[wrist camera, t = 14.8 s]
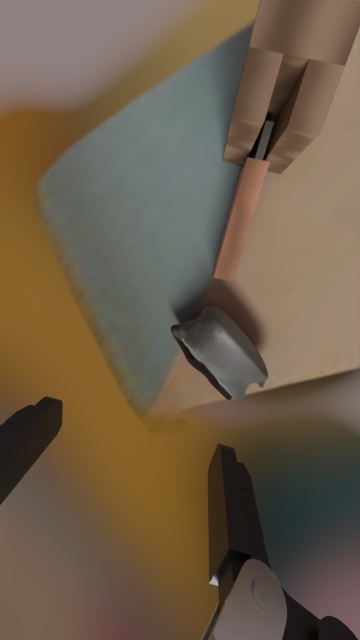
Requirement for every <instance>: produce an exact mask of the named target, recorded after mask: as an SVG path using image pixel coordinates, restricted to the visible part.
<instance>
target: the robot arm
mask: <svg viewBox="0 0 360 640" xmlns="http://www.w3.org/2000/svg"><path fill="white" fill-rule="evenodd" d="M62 404H63V403H62V401H61V400H58V399H54V398H51V397H44V398H43V399H41V400H40V401H39V402H38V403H37V404H36V405H35V406H33V405H29V406H27V407H25V408H23V409H21V410H19V411H17V412H16V413H14V414H13V415H12V416H11V417H10V418H9V419H7V420H6V421H5V423H3V424H2V425H0V505H1V504H2V502H3V501H4V500H5V499H6V497H7V496H8V495H9V494H10V493H11V491H12V490H13V489H14V487H15V486H16V485H17V484H18V483H19V481H20V480H21V479H22V478H23V476H24V475H25V474H26V473H27V471H28V470H29V469H30V468H31V466H32V465H33V464H34V463H35V461H36V460H37V459H38V458H39V457H40V455H41V454H42V453H43V451H44V450H45V449H46V448H47V447H48V445H49V444H50V443H51V441H52V440H53V439H54V438H55V437H56V435H57V434H58V432H59V430H60V428H61V425H62ZM253 492H254V491H253V486H252V480H251V476H250V474H249V473H248V471H247V469H246V467H245V465H244V464H243V463H239V462H237V459H236V453H235V449H234V448H233V447H230V446H226V445H222V444H218V445H217V447H216V450H215V452H214V454H213V457H212V460H211V462H210V465H209V469H208V526H209V527H208V530H209V531H208V532H209V583H210V584H213V585H217V586H218V590H219V591H218V593H219V603H218V605H217V607H216V609H215V611H214V613H213V616H212V618H211V620H210V622H209V624H208V626H207V629H206V631H205V633H204V635H203V637H202V639H201V640H358V639H357V638H356V636H355V635H354V634H353V632H352V631H351V630H350V629H349V628H348V627H347V626H346V625H345V624H344V623H342V622H341V621H340V620H338V619H337V618H334V617H332V616H326V617H324V618H322V619H321V620H320V619H318V618H317V617H316V616H314V615H313V614H312V613H311V612H309V611H308V610H306V609H305V608H304V607H303V606H301V605H300V604H299V603H298V602H296V601H295V600H294V599H293V598H291V597H290V596H289V595H288V594H287V593H286V591H285V590H284V589H283V588H282V586H281V585H280V583H279V581H278V580H277V578H276V576H275V575H274V573H273V571H272V569H271V567H270V564H269V561H268V557H267V553H266V548H265V543H264V539H263V533H262V529H261V524H260V519H259V514H258V509H257V506H256V500H255V495H254V493H253Z"/></svg>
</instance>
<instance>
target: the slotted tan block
mask: <svg viewBox="0 0 360 640" xmlns="http://www.w3.org/2000/svg"><path fill="white" fill-rule="evenodd" d="M359 26H360V1H358V0H260V3H259V7H258V11H257V15H256V19H255V23H254V27H253V32H252V36H251V40H250V44H249V48H248V52H247V56H246V61H245V65H244V69H243V73H242V77H241V81H240V85H239V89H238V94H237V98H236V102H235V106H234V110H233V114H232V119H231V124H230V129H229V134H228V139H227V143H226V148H225V153H224V158H223V161H224V162H229V163H233V164H238V165H242V166H244V164H245V162H246V159H247V157H248V156H249V154H250V151H251V149H252V147H253V145H254V143H255V140H256V138H257V136H258V134H259V132H260V130H261V127H263V126H264V124H265V122H266V121H271V122H274V124H273V128H272V131H271V134H270V137H269V141H268V144H267V147H266V151H265V154H264V157H263V161H267V162H270V164H269V167H268V170H267V171H270V172H274V173H279V174H281V173H282V172H283V171H284V170H285V169H286V168H287V167H288V166H289V165H290V164H291V163H292V162H293V160H294V159H295V158H296V157H297V156H298V155H299V154H300V153H301V152H302V151H303V150H304V149H305V148H306V147H307V146H308V145H309V144H310V143H311V142H312V141H313V140H314V139H315V138H316V137H317V136H318V135H319V134H320V132H321V129H322V127H323V124H324V121H325V119H326V116H327V113H328V110H329V108H330V105H331V102H332V100H333V97H334V94H335V92H336V89H337V86H338V83H339V81H340V78H341V75H342V73H343V70H344V67H345V64H346V62H347V59H348V56H349V54H350V51H351V48H352V45H353V43H354V40H355V37H356V35H357V32H358V29H359Z"/></svg>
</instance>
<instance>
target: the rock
mask: <svg viewBox="0 0 360 640" xmlns="http://www.w3.org/2000/svg"><path fill="white" fill-rule="evenodd" d="M171 332H172V334H173V336H174V338H175V339H176V341H177V342H178V344H179V345H180V347H181V349H182V351H183V353H184V355H185V357H186V359H187V361H188V362H189V363H190V364H191V365H192V366H193V367H194V368H195V369H197V370H198V371H200V372H201V373H202V374H203V375H204V376H205V377H206V378H207V379H208V380H209V382H210V383H211V384H212V385H213V386H214V387H215V388H216V389H217V390H218V391H219V392H220V393H221V394H222V395H223V396H224V397H225V398H226V399H228V400H230V399H231V398H232V397H233V398H234V399H235V400H238V401H240V400H241V399H242V398H243V397H244V394H245V392H246V389H247V388H248V386H249V385H250V384H252V383H257V384H258V385H259V387H261V388H263V386H264V383H265V381H266V380H267V378H268V372H267V369H266V366H265V364H264V361H263V359H262V358H261V356H260V354H259V352H258V351H257V349H256V348H255V346H254V345H253V343H252V342H251V341H250V340H249V338H248V337H247V336H246V335H245V334H244V333H243V331H242V330H241V329H240V328H239V327H238V326H237V325H236V324H235V322H234V321H233V320H232V319H231V318H230V317H229V316H228V315H227V314H226V312H225V311H223V310H222V309H221V308H220V307H218V306H216V305H212V306H208V307H205V308H204V309H202V311H201V315H200V316H199V317H198V318H197V319H192V320H188V321H186V322H184V323H182V324H179V325H173V326H172V327H171Z"/></svg>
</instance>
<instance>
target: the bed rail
mask: <svg viewBox="0 0 360 640" xmlns="http://www.w3.org/2000/svg"><path fill="white" fill-rule="evenodd" d="M273 124H274V122H271V121H266V122H265V124H264V126H263V128H262V131H261V133H260V135H259V137H258V139H257V141H256V144H255V148H254V151H253V155H252V158H249V157H247V159H246V162H245V164H244V166H243V168H242V170H241V173H240V177H239V180H238V184H237V188H236V191H235V195H234V198H233V202H232V205H231V209H230V213H229V216H228V220H227V223H226V227H225V231H224V234H223V238H222V241H221V245H220V249H219V252H218V256H217V259H216V263H215V267H214V270H213V277H214V278H218V279H222V280H226V281H230V282H232V281H233V277H234V274H235V271H236V268H237V265H238V262H239V259H240V255H241V252H242V249H243V246H244V243H245V240H246V236H247V233H248V230H249V227H250V224H251V221H252V217H253V214H254V211H255V208H256V205H257V202H258V198H259V195H260V192H261V189H262V186H263V183H264V180H265V176H266V173H267V170H268V167H269V164H270V162H267V161H263V157H264V154H265V151H266V147H267V144H268V141H269V137H270V134H271V131H272V128H273Z"/></svg>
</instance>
